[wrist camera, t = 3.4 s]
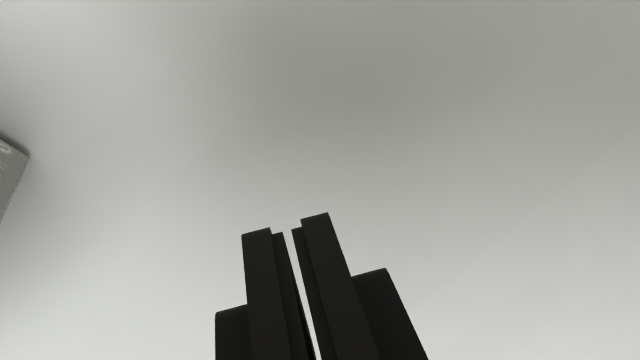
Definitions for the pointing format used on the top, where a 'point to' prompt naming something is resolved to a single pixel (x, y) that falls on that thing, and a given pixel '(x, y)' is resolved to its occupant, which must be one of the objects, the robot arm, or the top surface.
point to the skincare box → (9, 173)
